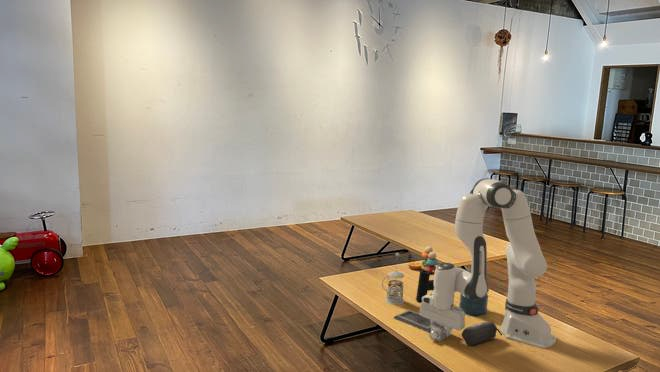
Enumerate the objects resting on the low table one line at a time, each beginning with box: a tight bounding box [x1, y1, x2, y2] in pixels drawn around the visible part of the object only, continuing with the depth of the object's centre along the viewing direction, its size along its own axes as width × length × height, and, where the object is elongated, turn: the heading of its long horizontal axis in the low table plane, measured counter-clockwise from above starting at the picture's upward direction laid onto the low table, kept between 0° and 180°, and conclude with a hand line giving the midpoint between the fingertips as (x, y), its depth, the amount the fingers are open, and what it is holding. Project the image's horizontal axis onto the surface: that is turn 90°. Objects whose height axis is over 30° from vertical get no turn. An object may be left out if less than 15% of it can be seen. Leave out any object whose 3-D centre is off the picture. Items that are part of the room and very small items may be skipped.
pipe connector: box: [415, 269, 434, 303], centre depth 246 cm, size 12×5×15 cm, turn 122°
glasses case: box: [461, 321, 503, 346], centre depth 203 cm, size 18×10×8 cm, turn 122°
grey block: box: [428, 322, 453, 343], centre depth 206 cm, size 4×12×6 cm, turn 138°
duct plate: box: [393, 309, 437, 333], centre depth 221 cm, size 19×11×2 cm, turn 44°
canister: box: [458, 288, 490, 317], centre depth 234 cm, size 13×13×18 cm
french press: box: [381, 252, 405, 306], centre depth 242 cm, size 10×12×25 cm
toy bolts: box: [407, 246, 439, 273], centre depth 294 cm, size 18×17×12 cm
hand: (440, 332), depth 206 cm, fingers closed on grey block, 5 cm apart
